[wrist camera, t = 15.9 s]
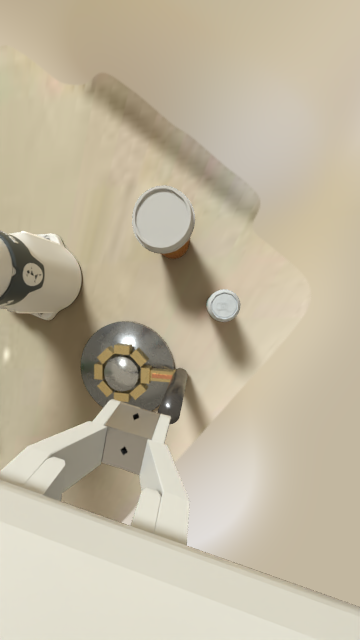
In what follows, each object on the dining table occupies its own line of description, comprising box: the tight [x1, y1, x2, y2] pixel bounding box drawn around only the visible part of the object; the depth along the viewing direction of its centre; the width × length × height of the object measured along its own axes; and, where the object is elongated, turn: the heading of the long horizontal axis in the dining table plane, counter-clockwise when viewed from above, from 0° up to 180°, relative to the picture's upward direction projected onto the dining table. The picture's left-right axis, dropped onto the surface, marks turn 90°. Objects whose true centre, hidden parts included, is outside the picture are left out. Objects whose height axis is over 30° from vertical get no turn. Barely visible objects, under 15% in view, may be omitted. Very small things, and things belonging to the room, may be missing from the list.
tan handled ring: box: [94, 343, 188, 424], centre depth 34 cm, size 19×12×14 cm, turn 88°
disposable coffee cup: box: [132, 186, 195, 259], centre depth 34 cm, size 10×10×12 cm
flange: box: [81, 321, 174, 411], centre depth 41 cm, size 21×21×4 cm
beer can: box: [206, 289, 240, 322], centre depth 34 cm, size 5×5×12 cm
